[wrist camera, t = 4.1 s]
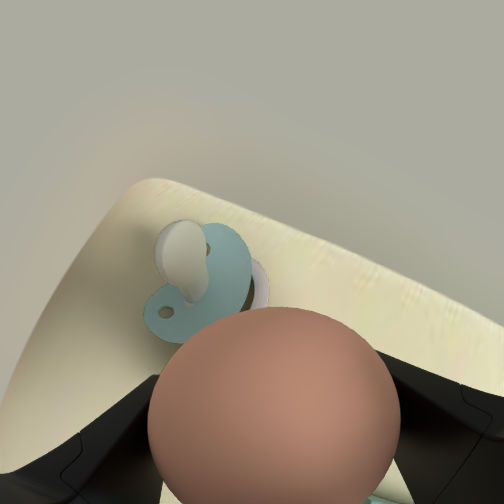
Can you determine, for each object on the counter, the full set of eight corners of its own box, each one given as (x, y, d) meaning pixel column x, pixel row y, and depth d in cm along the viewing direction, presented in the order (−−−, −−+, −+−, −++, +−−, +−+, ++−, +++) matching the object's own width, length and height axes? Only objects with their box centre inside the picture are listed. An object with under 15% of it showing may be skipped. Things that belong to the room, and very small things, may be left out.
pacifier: (285, 270, 18) (200, 236, 19) (301, 204, 13) (185, 166, 14) (234, 379, 15) (142, 331, 16) (225, 361, 9) (94, 288, 10)
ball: (294, 521, 6) (332, 611, 1) (151, 437, 8) (44, 446, 3) (381, 387, 9) (490, 346, 4) (244, 311, 11) (232, 206, 6)
